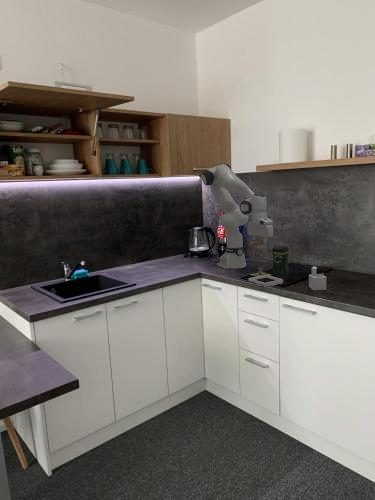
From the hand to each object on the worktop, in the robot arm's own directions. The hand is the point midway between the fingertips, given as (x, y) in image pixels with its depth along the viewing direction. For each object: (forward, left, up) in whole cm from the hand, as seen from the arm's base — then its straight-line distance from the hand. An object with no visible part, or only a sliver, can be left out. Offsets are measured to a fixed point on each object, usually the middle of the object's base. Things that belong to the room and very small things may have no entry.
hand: (260, 243), depth 237 cm
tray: (+14, -8, -21) cm, 26 cm away
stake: (0, 0, -21) cm, 21 cm away
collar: (0, +1, -3) cm, 3 cm away
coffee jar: (+5, +12, -21) cm, 25 cm away
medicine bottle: (+40, +6, -21) cm, 46 cm away
